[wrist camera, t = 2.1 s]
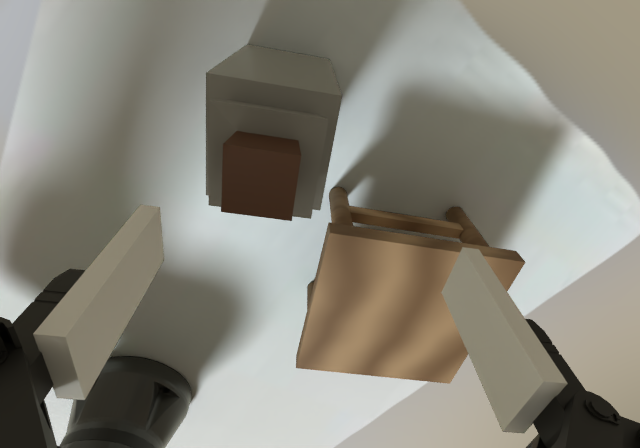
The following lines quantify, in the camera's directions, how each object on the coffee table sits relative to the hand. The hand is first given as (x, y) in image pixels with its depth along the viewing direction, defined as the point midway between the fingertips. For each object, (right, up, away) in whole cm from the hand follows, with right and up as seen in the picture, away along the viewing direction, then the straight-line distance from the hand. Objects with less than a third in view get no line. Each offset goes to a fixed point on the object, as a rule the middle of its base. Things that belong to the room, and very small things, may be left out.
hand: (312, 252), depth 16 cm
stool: (+7, -2, +25) cm, 26 cm away
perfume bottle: (-3, +13, +15) cm, 20 cm away
